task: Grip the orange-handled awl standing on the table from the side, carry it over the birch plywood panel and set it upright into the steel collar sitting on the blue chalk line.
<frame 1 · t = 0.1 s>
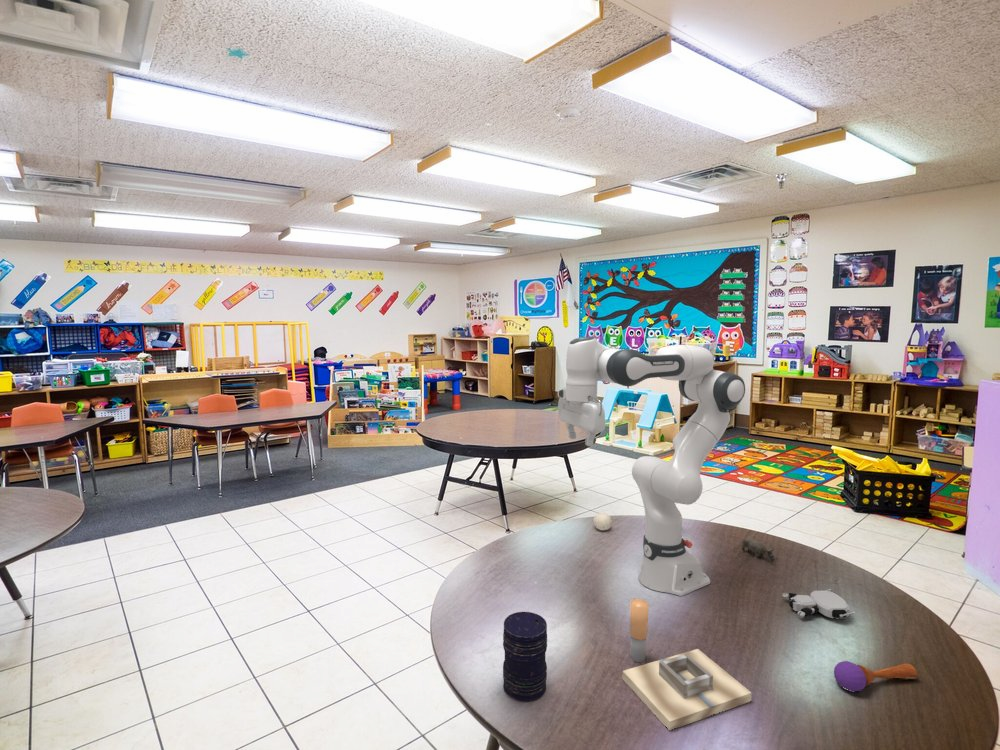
hand: (580, 441, 145), 48 cm above the table, tool pointing down, fingers open, 8 cm apart
plywood panel: (684, 689, 113), on the table
purple maraca: (874, 685, 115), on the table
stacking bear: (662, 534, 197), on the table
dark blue cylinder: (524, 687, 114), on the table
rhino figurine: (758, 558, 177), on the table
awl: (637, 657, 124), on the table
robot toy: (816, 613, 144), on the table
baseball: (602, 530, 201), on the table
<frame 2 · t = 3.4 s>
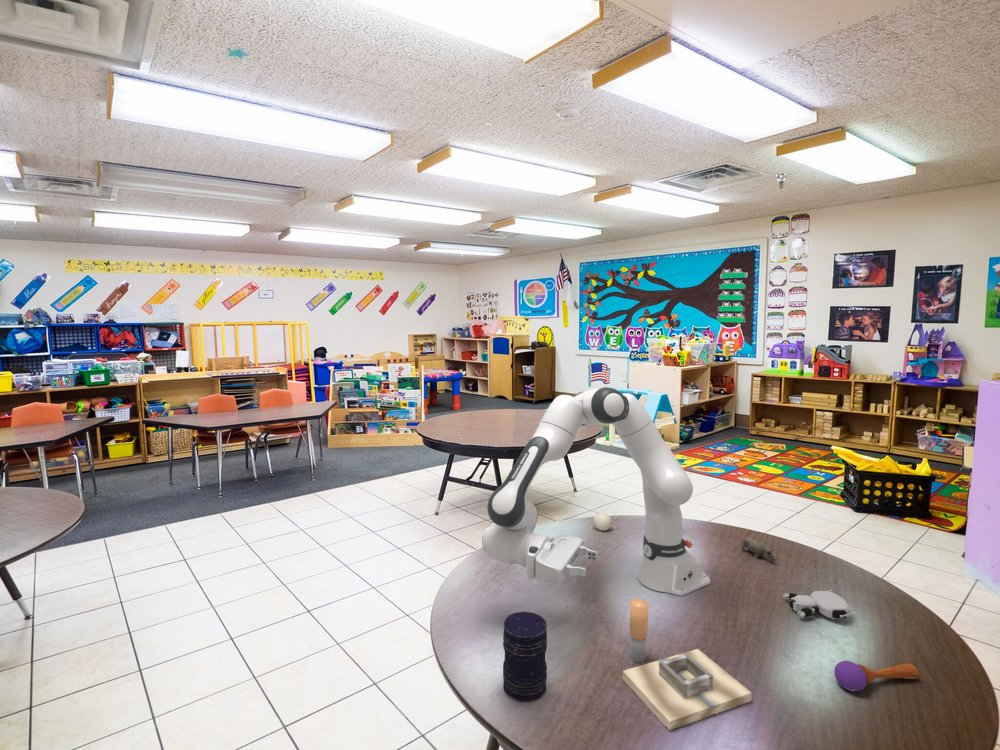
hand: (591, 563, 127), 22 cm above the table, tool horizontal, fingers open, 8 cm apart
nothing on the table moved.
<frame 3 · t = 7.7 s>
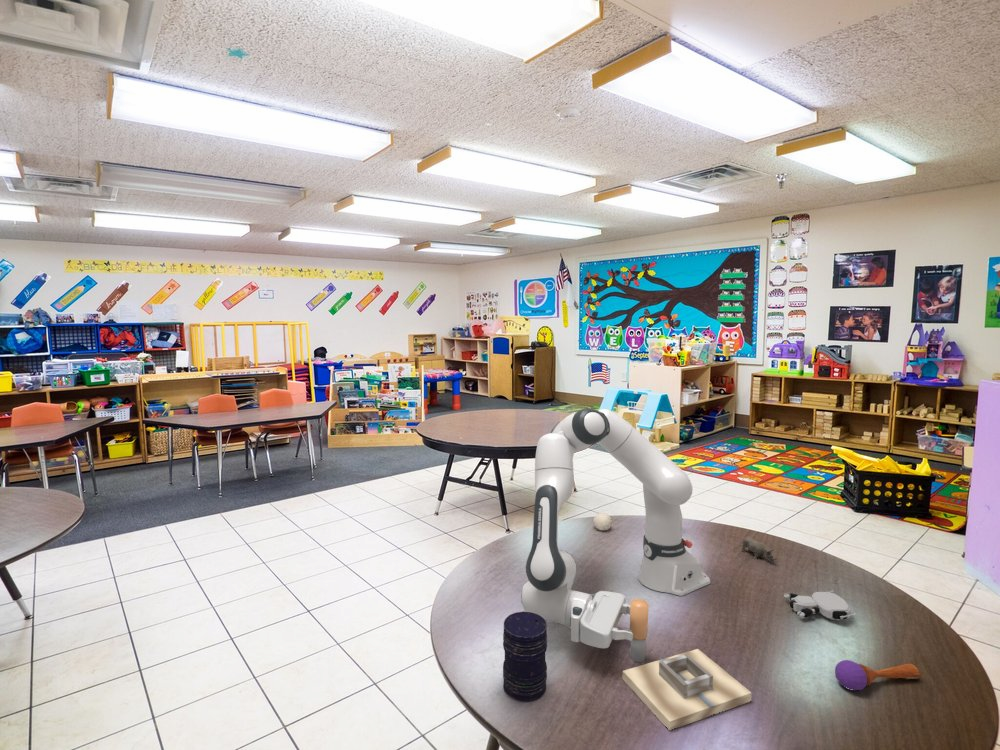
hand: (636, 625, 123), 8 cm above the table, tool horizontal, fingers open, 8 cm apart
nothing on the table moved.
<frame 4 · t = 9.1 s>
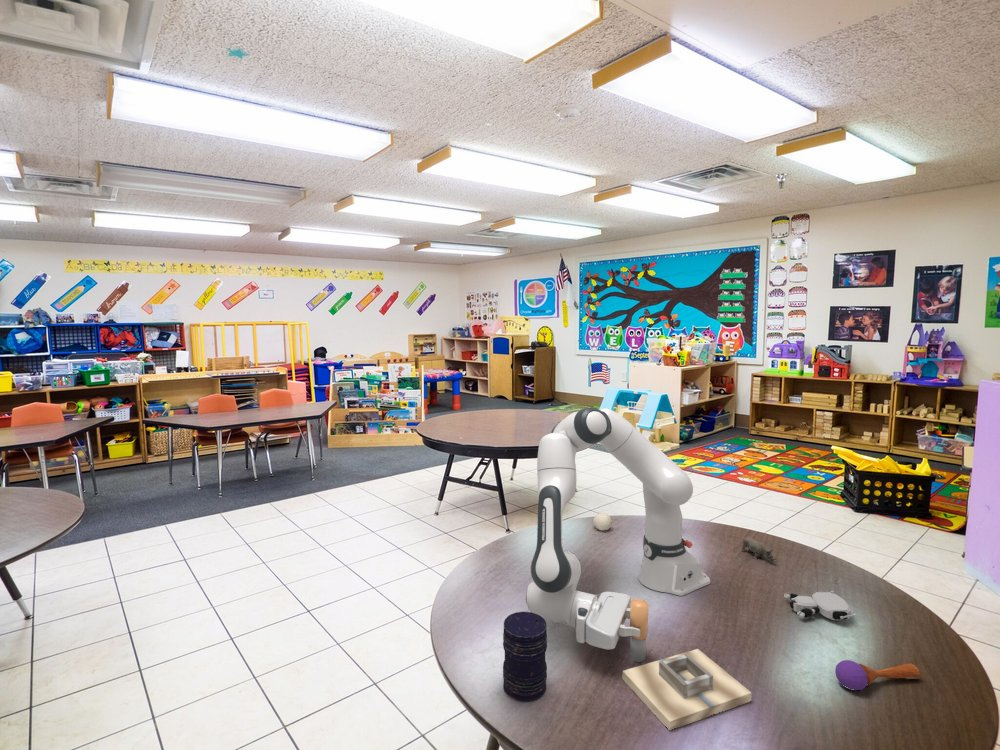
hand: (642, 625, 122), 8 cm above the table, tool horizontal, fingers closed on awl, 4 cm apart
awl: (637, 657, 124), on the table, touching gripper
everything else where it was.
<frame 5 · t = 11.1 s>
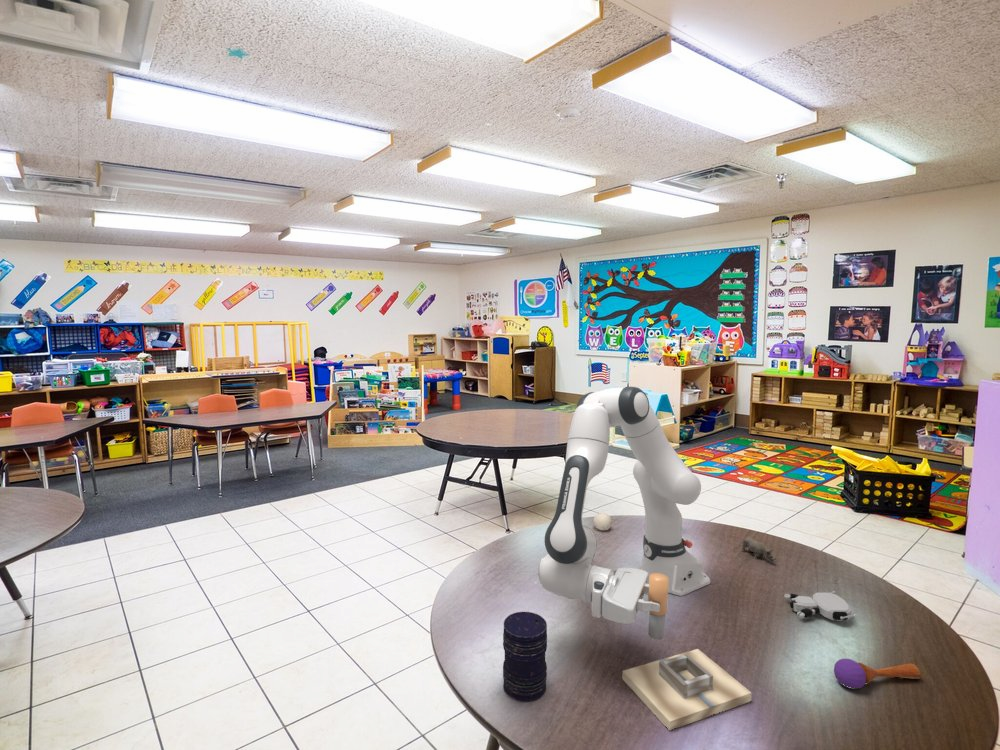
hand: (662, 601, 116), 18 cm above the table, tool horizontal, fingers closed on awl, 4 cm apart
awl: (656, 634, 117), point 10 cm above the table, touching gripper
everything else where it was.
when the fingers open (12 cm above the table, at t = 13.5 s): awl drops 1 cm, resting on plywood panel.
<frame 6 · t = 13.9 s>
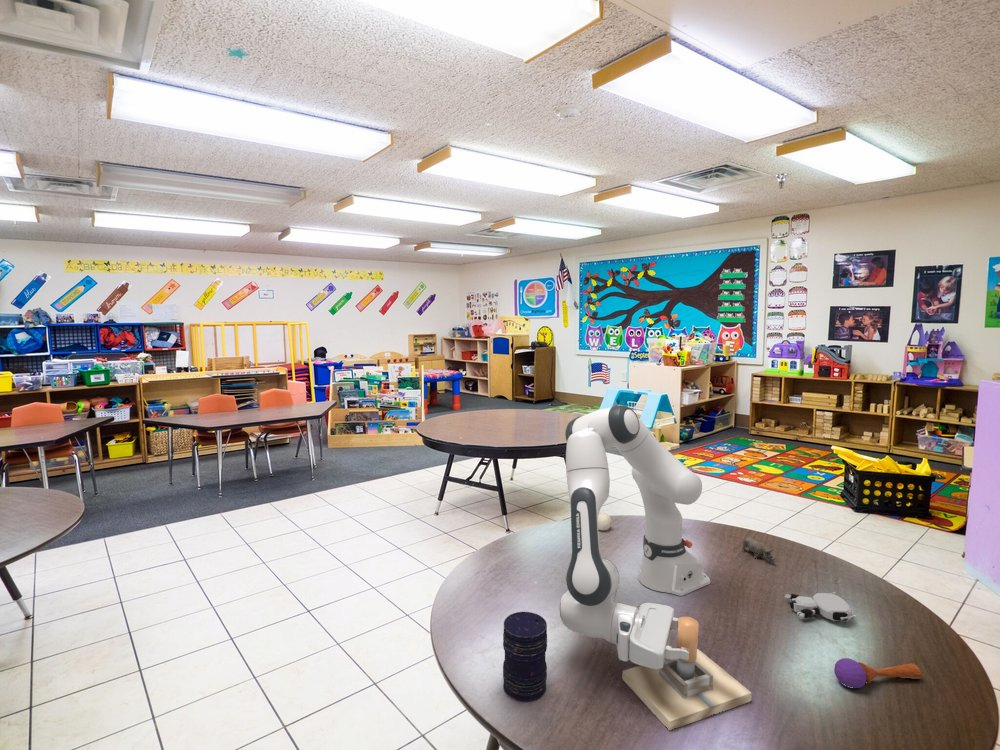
hand: (691, 642, 111), 12 cm above the table, tool horizontal, fingers open, 8 cm apart
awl: (684, 681, 113), point 2 cm above the table, touching plywood panel
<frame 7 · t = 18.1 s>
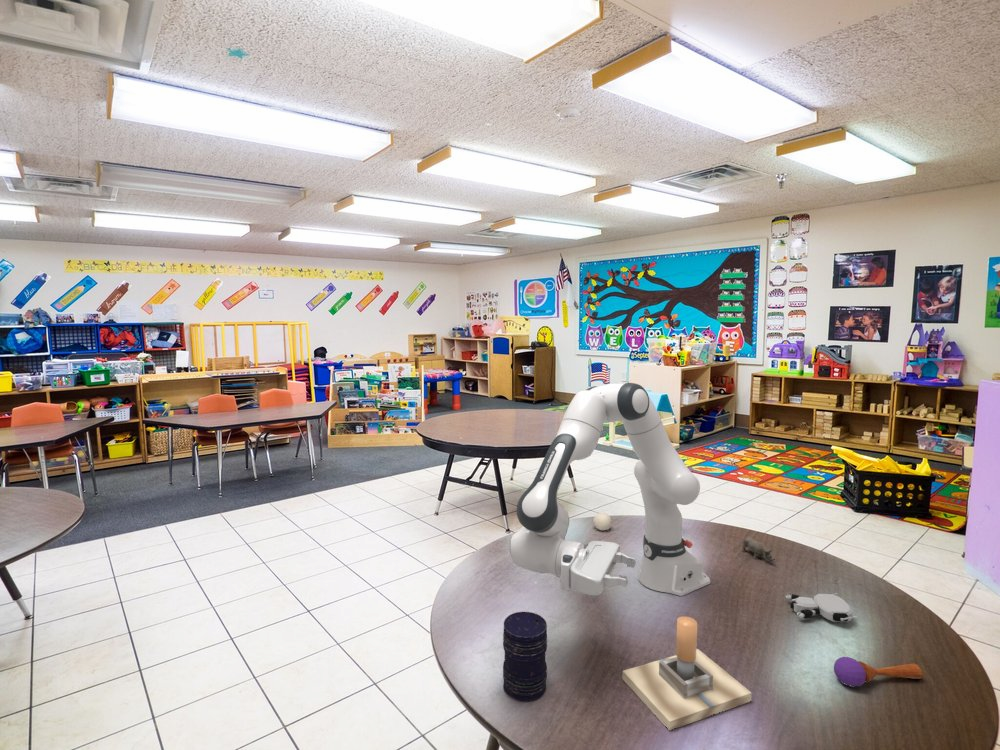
hand: (631, 572, 116), 25 cm above the table, tool horizontal, fingers open, 8 cm apart
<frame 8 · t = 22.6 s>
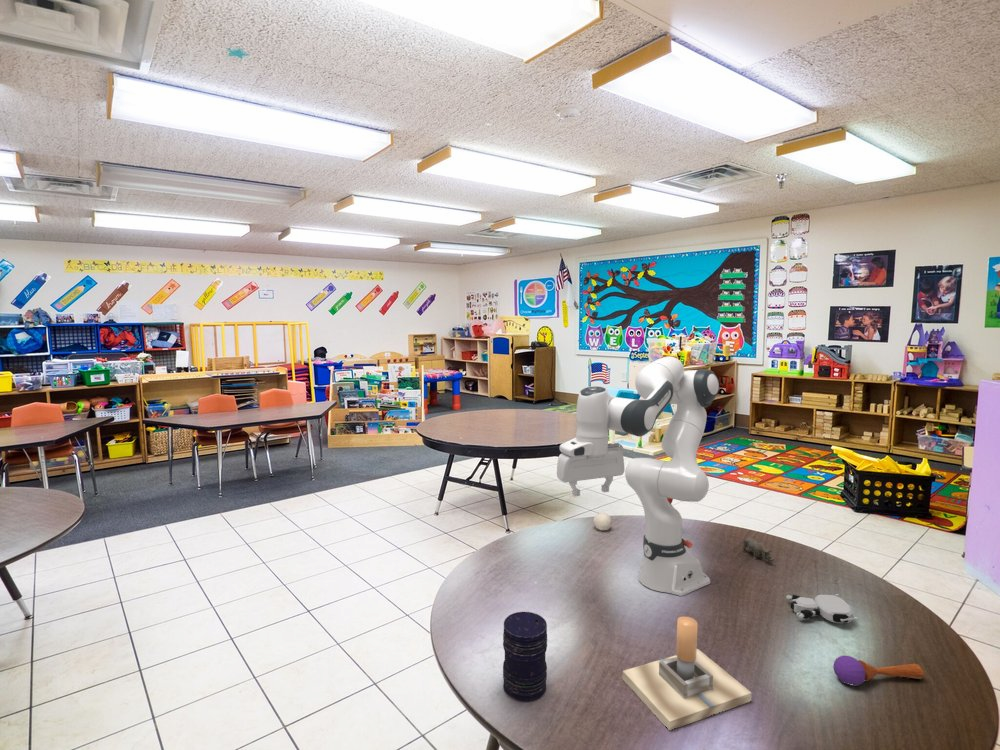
hand: (590, 493, 142), 34 cm above the table, tool pointing down, fingers open, 8 cm apart
at the end: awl 0.0 cm off-centre on the plywood panel, point 2.1 cm above the plywood panel's base; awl tilted 0°; the gripper is holding nothing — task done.
